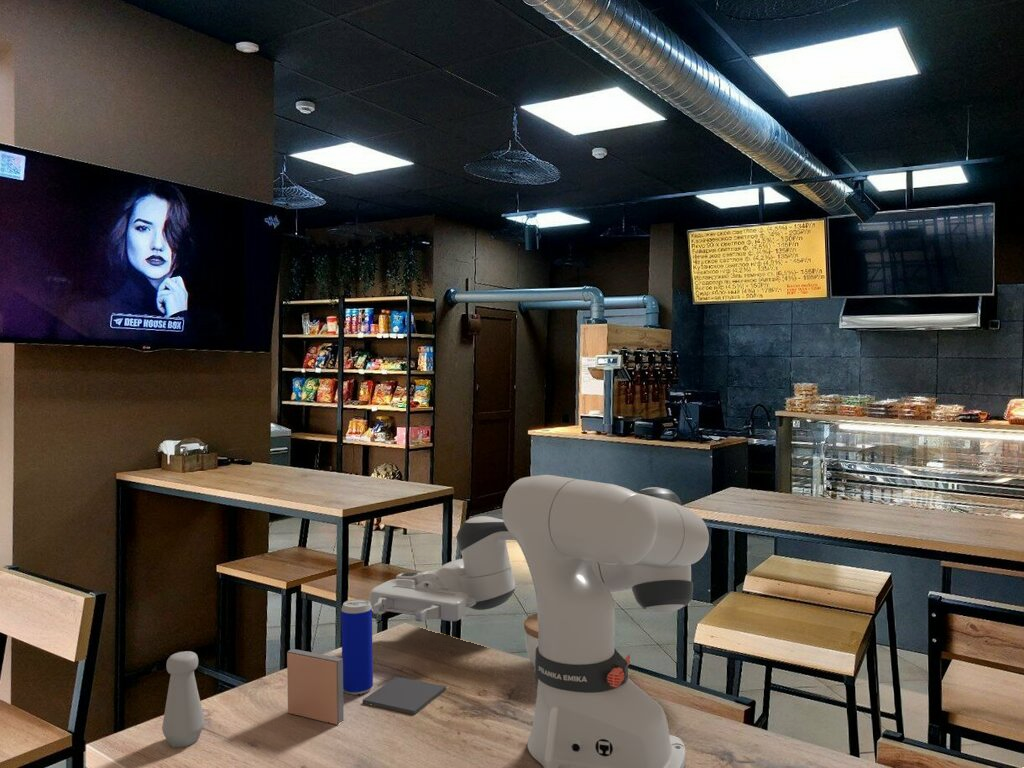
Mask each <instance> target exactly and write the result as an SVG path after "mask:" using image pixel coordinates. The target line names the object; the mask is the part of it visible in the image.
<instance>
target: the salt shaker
mask: <svg viewBox="0 0 1024 768" xmlns="http://www.w3.org/2000/svg"><path fill="white" fill-rule="evenodd" d="M198 666H199V657H198V654H197V653H196V652H194V651H191V650H189V651H188V650H187V651H178V652H175V653H173V654H171V655H170V656H169V657H168V659H167V660H166V667H165V669H166V671H167V673H168V674H170V677H169V683H168V688H167V695H166V702H165V707H164V713H163V714H164V715H163V721H162V726H161V729H162V734H163V736H164V737H165V739H166V741H167V744H168V745H170V746H171V747H172V748H173V749H175V748H176V749H177V748H187V747H190V746H191V745H193V744H195V743H197V742H198V741H199V739H200V735H201V733H202V731H203V728H204V727H205V724H206V723H205V722H206V719H205V715H204V711H203V706H202V703H201V698H200V694H199V690H198V685H197V680H196V677H195V670H196V669H197V668H198Z"/></svg>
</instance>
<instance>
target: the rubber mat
mask: <svg viewBox="0 0 1024 768" xmlns="http://www.w3.org/2000/svg"><path fill="white" fill-rule="evenodd" d="M446 690H447V687H446V685H441V684H436V683H432V682H431V683H430V682H427V681H426V682H425V681H421V680H416V679H411V678H405V677H402V676H401V677H400V676H396V677H394V678H393V679H390V681H388V682H387V683H385V684H383V686H381V687H379V688H378V689H376V690H375V691H373V692H372V693H370V694H369V695H367V696H366V697H364V698H363V699H362V704H364V703H367V704H366V705H368V704H372V705H371V706H373V705H376V706H375V707H378V706H379V708H382V707H383V709H387V708H388V709H387V710H392V711H397V712H400V711H401V712H400V713H405V712H406V713H405V714H409V713H410V714H409V715H416V714H418V713H419V712H420V711H421V710H423V709H424V708H425V707H426V706H428V705H429V704H430V703H431V702H433V701H434V700H435V699H436V698H437V697H439V696H440V695H442V694H443V693H444V692H445V691H446ZM443 691H444V692H443ZM442 692H443V693H442Z"/></svg>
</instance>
